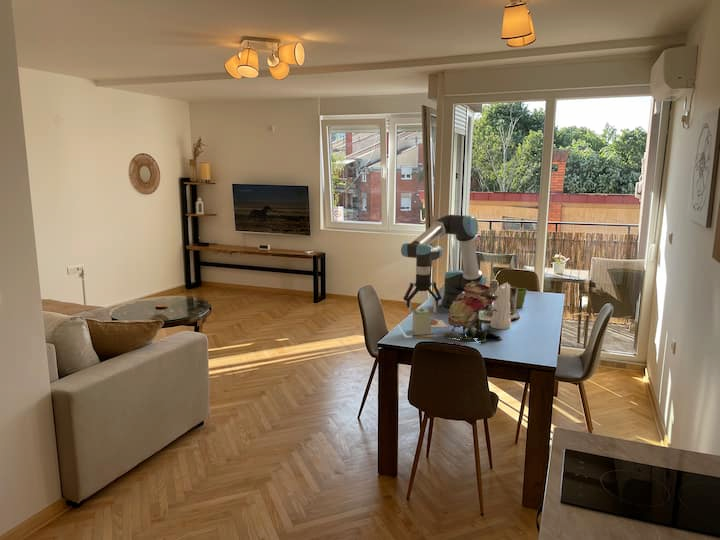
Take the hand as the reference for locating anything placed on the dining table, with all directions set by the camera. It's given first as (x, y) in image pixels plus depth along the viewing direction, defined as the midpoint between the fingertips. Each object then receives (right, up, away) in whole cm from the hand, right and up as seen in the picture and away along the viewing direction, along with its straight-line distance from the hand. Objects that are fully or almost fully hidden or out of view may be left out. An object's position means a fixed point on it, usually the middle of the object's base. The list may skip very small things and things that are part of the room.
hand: (422, 312), depth 280 cm
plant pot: (+69, -1, +61) cm, 92 cm away
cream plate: (+9, -8, +18) cm, 22 cm away
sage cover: (0, -11, +2) cm, 11 cm away
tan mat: (0, -11, +2) cm, 12 cm away
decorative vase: (+46, -9, +17) cm, 50 cm away
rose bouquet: (+24, -13, -3) cm, 28 cm away
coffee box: (+59, -4, +48) cm, 76 cm away
